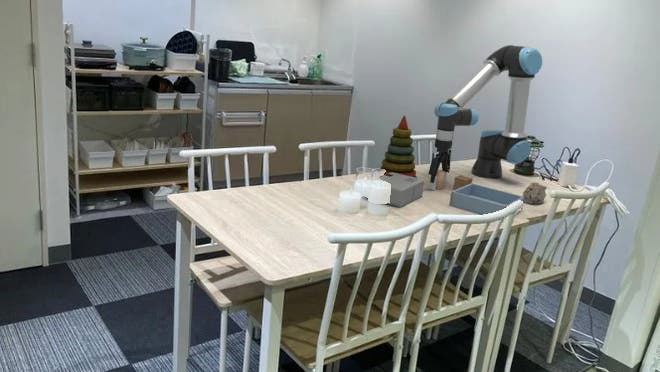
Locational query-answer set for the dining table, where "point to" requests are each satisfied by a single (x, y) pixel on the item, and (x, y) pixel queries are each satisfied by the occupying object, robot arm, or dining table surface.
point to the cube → (461, 181)
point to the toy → (400, 152)
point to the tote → (482, 199)
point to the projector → (403, 188)
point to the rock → (534, 193)
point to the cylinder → (440, 179)
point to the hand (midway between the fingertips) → (437, 187)
